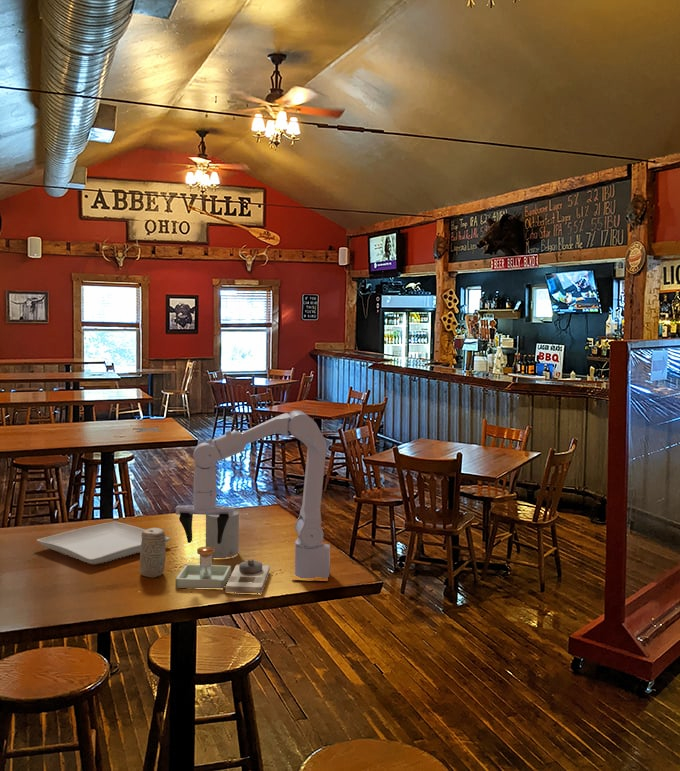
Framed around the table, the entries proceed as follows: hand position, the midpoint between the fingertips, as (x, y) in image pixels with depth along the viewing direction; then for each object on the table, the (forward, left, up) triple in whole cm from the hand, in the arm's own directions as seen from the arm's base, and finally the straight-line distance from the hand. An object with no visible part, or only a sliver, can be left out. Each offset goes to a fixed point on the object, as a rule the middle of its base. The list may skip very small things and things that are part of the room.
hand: (204, 542), depth 189 cm
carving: (+15, -4, -11) cm, 18 cm away
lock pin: (0, 0, -10) cm, 10 cm away
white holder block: (-11, 0, -10) cm, 15 cm away
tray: (0, 0, -10) cm, 10 cm away
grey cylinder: (0, -22, -11) cm, 24 cm away
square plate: (+35, -24, -11) cm, 43 cm away
